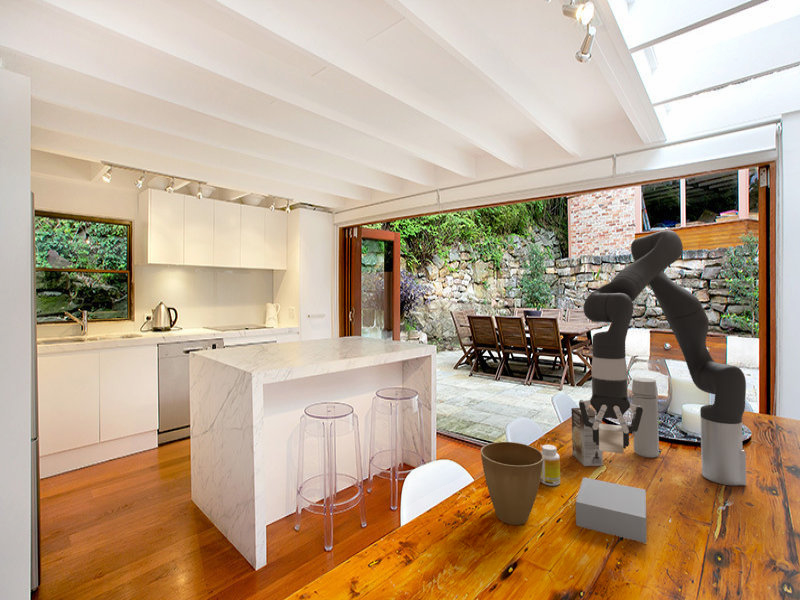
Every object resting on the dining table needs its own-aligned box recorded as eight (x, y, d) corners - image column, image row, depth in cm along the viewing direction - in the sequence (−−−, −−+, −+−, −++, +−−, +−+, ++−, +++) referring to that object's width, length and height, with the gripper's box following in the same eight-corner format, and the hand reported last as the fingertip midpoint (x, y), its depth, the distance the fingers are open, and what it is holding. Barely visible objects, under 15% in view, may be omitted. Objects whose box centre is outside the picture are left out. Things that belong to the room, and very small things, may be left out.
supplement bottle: (564, 483, 111) (563, 448, 111) (550, 488, 109) (549, 452, 109) (549, 476, 116) (548, 442, 116) (535, 480, 114) (534, 445, 114)
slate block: (646, 513, 96) (645, 489, 96) (646, 545, 84) (645, 518, 84) (583, 499, 103) (583, 477, 103) (576, 526, 91) (575, 501, 91)
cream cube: (621, 446, 95) (621, 425, 95) (623, 453, 90) (623, 432, 90) (598, 443, 97) (598, 423, 97) (599, 450, 92) (598, 429, 92)
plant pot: (512, 542, 86) (510, 470, 86) (470, 510, 99) (468, 448, 99) (559, 522, 93) (557, 456, 92) (514, 495, 106) (512, 437, 106)
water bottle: (659, 452, 131) (657, 378, 131) (659, 460, 124) (657, 383, 124) (627, 447, 136) (625, 376, 136) (626, 455, 129) (624, 380, 129)
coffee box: (571, 454, 131) (570, 407, 131) (590, 454, 131) (589, 406, 131) (583, 466, 122) (582, 415, 122) (604, 466, 122) (603, 415, 122)
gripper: (641, 374, 94) (642, 444, 94) (576, 371, 100) (578, 436, 100) (646, 381, 87) (647, 456, 87) (576, 376, 93) (577, 447, 93)
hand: (610, 445), depth 94 cm, fingers closed on cream cube, 5 cm apart
